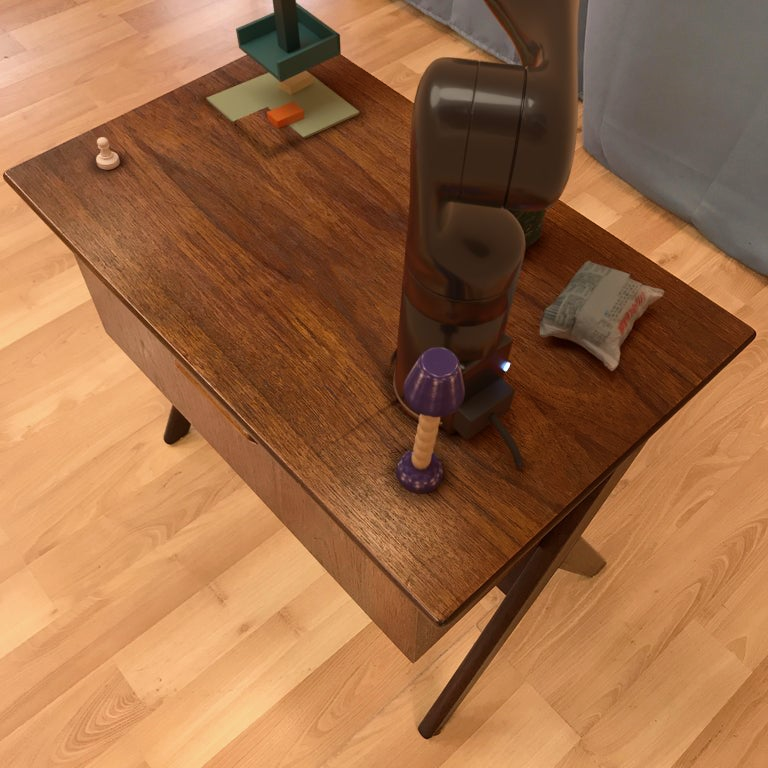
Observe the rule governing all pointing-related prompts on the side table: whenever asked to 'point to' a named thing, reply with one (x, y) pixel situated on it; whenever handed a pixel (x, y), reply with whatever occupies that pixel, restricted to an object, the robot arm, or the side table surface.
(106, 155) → the chess pawn
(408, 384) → the toy lamp
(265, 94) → the mat
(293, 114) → the block
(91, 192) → the side table surface
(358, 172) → the side table surface
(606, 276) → the packaged food
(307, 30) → the tray with upright handle
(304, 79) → the block
